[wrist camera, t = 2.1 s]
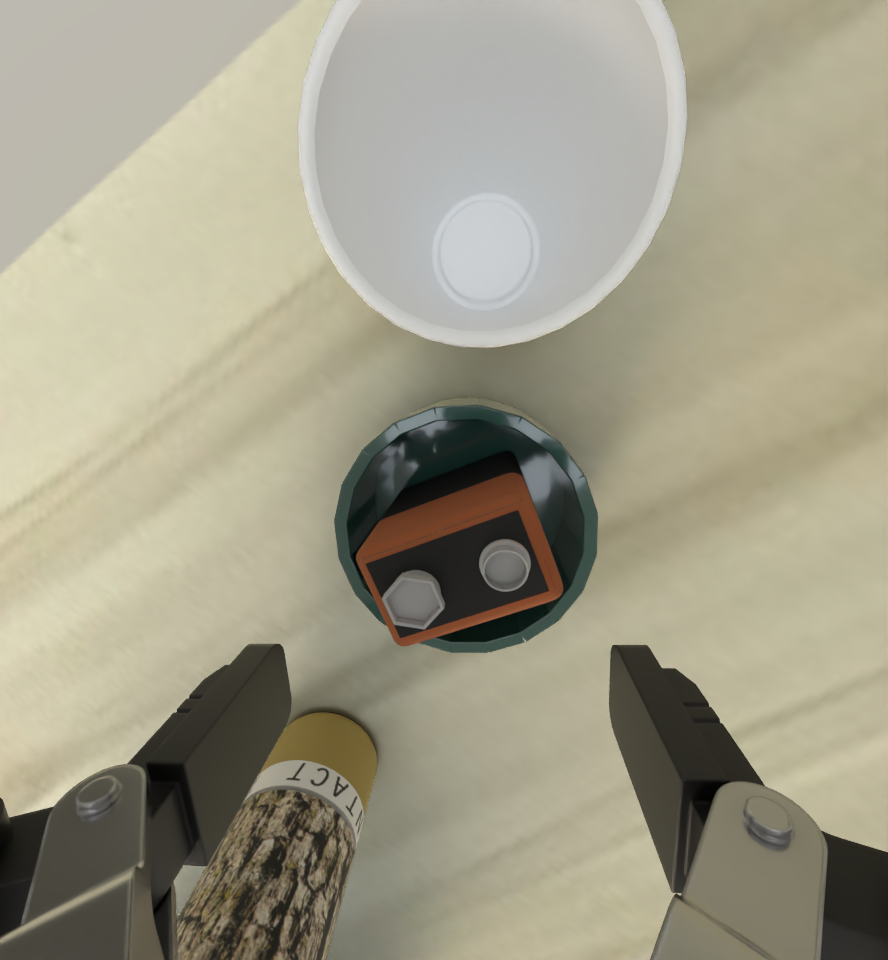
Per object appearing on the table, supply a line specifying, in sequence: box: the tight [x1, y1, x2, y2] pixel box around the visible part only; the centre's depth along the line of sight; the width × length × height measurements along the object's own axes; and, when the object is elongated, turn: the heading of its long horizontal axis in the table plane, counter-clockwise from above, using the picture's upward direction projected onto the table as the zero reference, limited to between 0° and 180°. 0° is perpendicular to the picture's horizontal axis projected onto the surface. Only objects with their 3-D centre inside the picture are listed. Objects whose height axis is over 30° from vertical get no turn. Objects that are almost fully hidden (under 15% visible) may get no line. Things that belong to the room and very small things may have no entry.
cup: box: [298, 0, 687, 348], centre depth 17 cm, size 10×10×11 cm
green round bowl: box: [334, 397, 598, 653], centre depth 22 cm, size 12×12×6 cm
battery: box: [356, 451, 563, 646], centre depth 20 cm, size 4×7×10 cm, turn 112°
